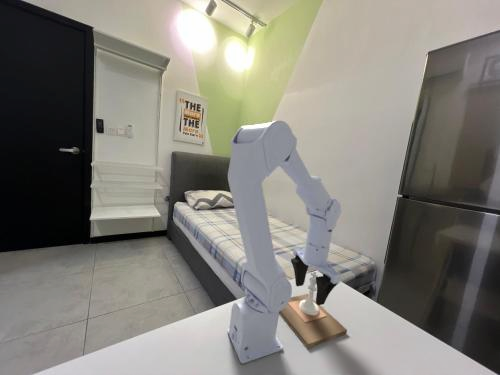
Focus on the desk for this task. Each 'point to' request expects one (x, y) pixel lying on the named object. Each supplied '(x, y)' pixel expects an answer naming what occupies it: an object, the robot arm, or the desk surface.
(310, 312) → the chess piece
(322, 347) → the desk surface
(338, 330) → the walnut board
